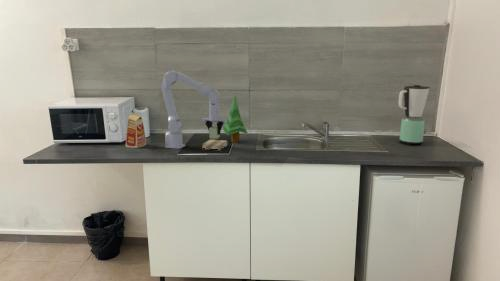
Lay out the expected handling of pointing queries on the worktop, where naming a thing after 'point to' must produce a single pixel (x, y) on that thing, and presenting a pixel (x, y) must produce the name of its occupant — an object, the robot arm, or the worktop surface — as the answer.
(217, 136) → the green block
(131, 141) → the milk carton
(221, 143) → the beige irregular slab
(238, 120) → the decorative tree
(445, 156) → the worktop surface
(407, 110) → the mint green blender
